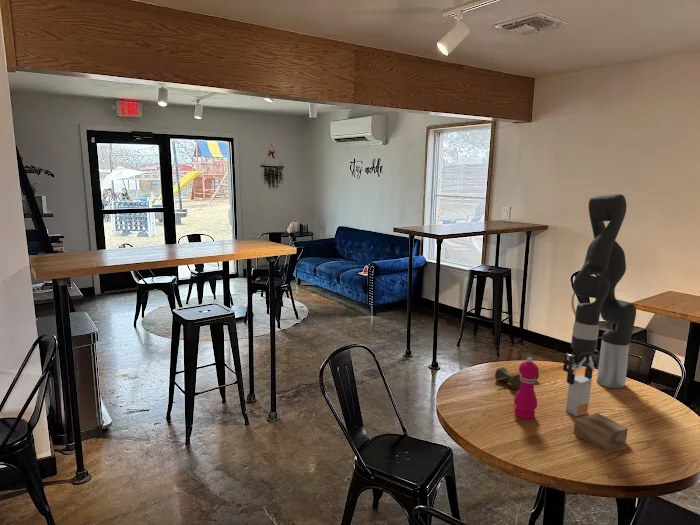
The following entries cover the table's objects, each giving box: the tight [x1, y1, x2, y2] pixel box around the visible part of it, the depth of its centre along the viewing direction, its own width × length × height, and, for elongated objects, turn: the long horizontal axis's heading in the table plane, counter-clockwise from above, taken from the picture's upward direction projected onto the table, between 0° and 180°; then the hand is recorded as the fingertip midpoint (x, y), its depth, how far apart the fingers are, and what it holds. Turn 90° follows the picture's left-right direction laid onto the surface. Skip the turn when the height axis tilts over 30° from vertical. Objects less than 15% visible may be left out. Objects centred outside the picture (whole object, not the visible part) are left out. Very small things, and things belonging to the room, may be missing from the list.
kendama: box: [494, 366, 540, 391], centre depth 179 cm, size 6×10×20 cm
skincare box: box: [565, 375, 593, 417], centre depth 156 cm, size 6×4×12 cm
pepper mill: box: [513, 357, 539, 420], centre depth 153 cm, size 7×7×20 cm
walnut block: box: [573, 412, 628, 451], centre depth 141 cm, size 10×10×5 cm
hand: (579, 381), depth 156 cm, fingers open, 8 cm apart
